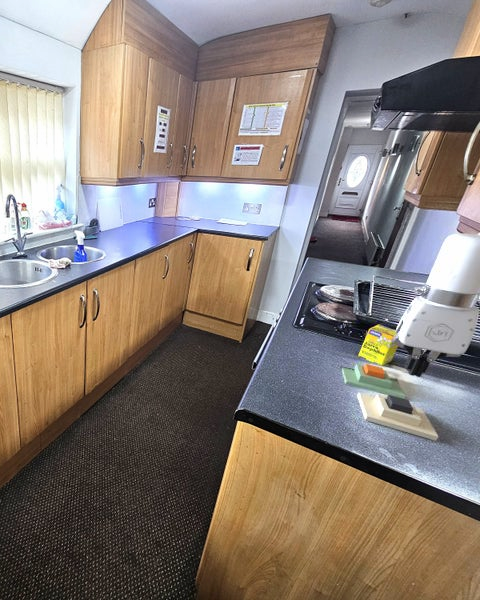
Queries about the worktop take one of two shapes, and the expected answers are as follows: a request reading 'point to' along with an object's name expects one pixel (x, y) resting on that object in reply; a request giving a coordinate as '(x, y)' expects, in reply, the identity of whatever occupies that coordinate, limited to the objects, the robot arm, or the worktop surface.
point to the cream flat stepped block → (396, 416)
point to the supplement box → (379, 345)
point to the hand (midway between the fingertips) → (412, 372)
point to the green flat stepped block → (371, 381)
